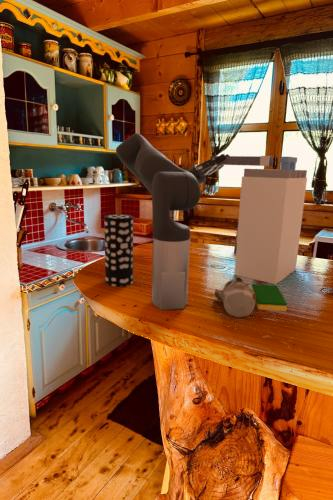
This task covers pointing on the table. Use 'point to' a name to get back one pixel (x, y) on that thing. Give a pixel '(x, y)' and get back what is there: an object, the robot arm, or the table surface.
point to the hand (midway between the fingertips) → (227, 156)
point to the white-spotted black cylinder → (118, 250)
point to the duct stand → (270, 221)
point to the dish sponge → (268, 297)
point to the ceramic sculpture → (236, 298)
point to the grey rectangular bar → (247, 160)
